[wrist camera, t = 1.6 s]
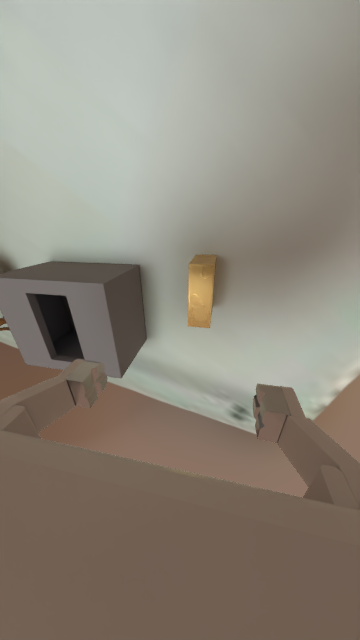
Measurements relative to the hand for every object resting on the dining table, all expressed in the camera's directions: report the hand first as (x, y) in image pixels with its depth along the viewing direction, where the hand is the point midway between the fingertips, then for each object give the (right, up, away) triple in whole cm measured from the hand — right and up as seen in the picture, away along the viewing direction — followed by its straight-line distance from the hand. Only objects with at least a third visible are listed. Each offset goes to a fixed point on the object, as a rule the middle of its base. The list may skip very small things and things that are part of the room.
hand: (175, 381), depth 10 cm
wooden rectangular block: (+4, +8, +16) cm, 18 cm away
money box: (-12, +6, +20) cm, 24 cm away
